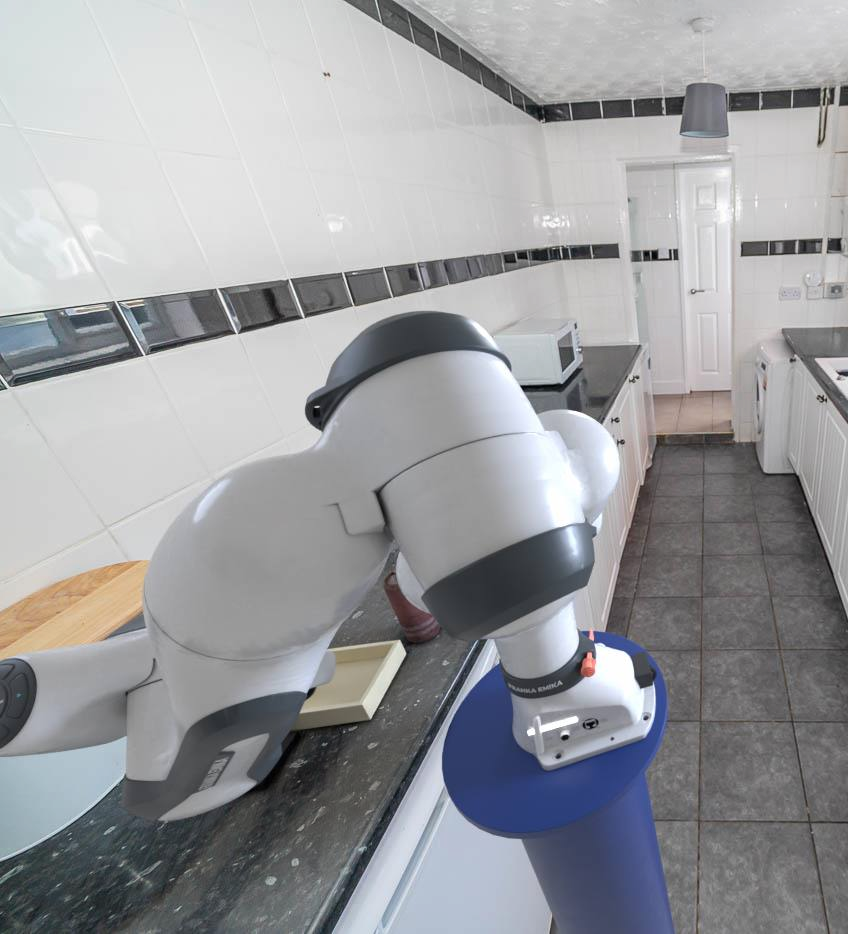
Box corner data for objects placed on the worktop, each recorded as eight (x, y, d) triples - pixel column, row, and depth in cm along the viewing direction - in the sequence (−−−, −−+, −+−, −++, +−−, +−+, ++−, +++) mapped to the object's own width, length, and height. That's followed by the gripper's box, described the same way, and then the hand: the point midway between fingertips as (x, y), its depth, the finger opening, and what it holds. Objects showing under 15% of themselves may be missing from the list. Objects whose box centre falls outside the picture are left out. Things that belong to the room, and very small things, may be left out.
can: (427, 617, 98) (404, 561, 92) (448, 625, 95) (426, 569, 89) (399, 638, 93) (372, 581, 87) (421, 648, 90) (395, 589, 84)
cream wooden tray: (406, 653, 90) (400, 639, 88) (370, 719, 77) (362, 704, 76) (318, 665, 88) (309, 651, 87) (267, 734, 76) (256, 719, 75)
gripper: (73, 732, 51) (197, 711, 64) (280, 702, 52) (359, 688, 65) (89, 667, 53) (206, 660, 66) (288, 641, 54) (363, 639, 67)
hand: (284, 674), depth 66 cm, fingers closed
